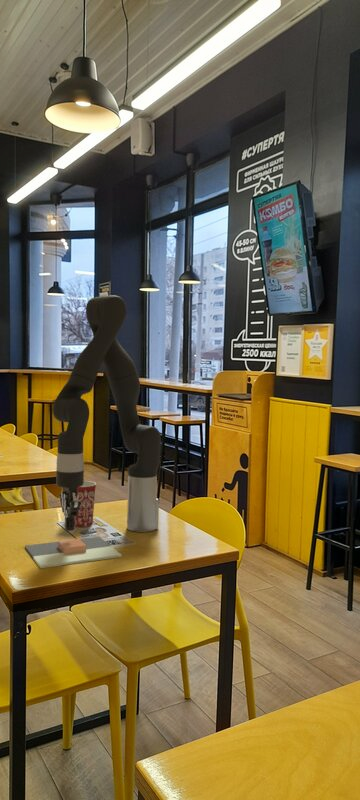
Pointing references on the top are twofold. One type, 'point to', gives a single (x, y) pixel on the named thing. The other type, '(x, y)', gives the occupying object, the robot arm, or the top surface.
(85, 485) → the mug
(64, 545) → the tile
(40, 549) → the mat
